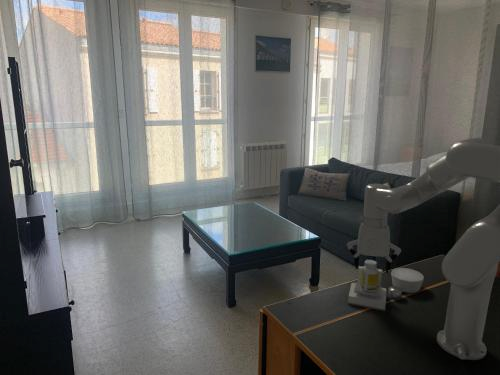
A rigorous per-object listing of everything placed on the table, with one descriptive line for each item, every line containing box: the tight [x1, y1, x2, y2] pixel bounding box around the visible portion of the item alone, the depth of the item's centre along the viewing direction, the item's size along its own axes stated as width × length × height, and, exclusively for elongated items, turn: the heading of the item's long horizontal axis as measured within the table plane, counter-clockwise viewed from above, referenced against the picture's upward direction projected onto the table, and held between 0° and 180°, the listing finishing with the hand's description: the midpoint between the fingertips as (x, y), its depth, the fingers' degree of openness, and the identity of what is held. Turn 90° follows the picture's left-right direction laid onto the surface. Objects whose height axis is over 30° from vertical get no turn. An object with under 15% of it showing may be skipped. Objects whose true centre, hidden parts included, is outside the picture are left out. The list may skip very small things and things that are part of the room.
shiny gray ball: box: [387, 285, 402, 301], centre depth 134 cm, size 4×4×3 cm
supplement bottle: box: [361, 259, 379, 292], centre depth 129 cm, size 5×5×10 cm
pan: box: [354, 281, 383, 297], centre depth 131 cm, size 7×9×2 cm
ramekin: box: [390, 267, 425, 294], centre depth 141 cm, size 11×11×5 cm
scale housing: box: [347, 265, 387, 312], centre depth 131 cm, size 10×12×10 cm
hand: (372, 269), depth 128 cm, fingers open, 9 cm apart
